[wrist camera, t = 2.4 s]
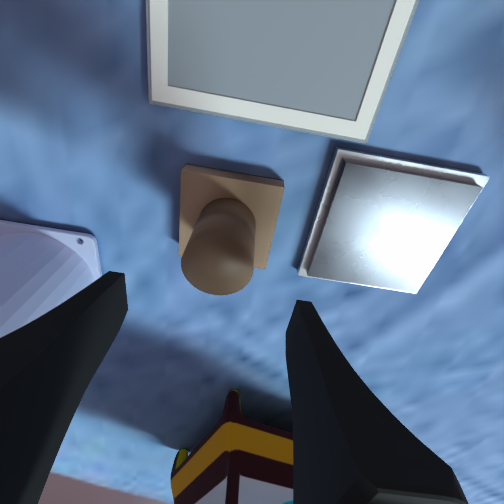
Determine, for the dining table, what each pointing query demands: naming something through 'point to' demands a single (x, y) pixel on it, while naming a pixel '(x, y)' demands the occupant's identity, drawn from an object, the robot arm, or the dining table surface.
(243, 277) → the stamp
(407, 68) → the dining table surface
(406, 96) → the dining table surface
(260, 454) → the decorative lantern
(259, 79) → the marked board
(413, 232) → the ink pad
